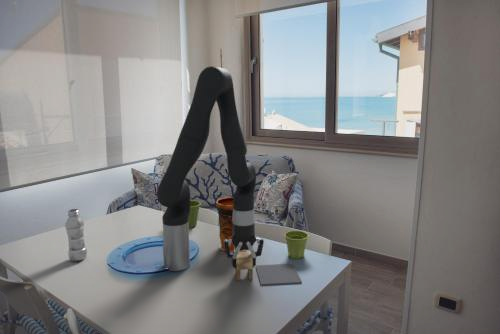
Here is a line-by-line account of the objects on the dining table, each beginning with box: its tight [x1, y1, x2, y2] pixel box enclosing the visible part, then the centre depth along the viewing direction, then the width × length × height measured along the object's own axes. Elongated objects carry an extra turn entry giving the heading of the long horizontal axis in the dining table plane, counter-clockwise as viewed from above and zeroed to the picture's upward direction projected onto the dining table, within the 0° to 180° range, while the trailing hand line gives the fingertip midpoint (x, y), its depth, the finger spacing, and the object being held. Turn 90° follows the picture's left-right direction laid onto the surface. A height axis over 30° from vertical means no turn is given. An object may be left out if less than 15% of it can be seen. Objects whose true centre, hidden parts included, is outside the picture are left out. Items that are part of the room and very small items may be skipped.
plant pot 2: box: [283, 230, 310, 259], centre depth 148 cm, size 9×9×9 cm
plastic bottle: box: [64, 208, 88, 262], centre depth 144 cm, size 6×7×20 cm
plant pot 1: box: [188, 199, 202, 229], centre depth 182 cm, size 12×12×11 cm
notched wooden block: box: [235, 251, 254, 282], centre depth 131 cm, size 6×6×8 cm
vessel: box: [215, 196, 247, 253], centre depth 156 cm, size 14×14×20 cm
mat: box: [255, 263, 303, 286], centre depth 133 cm, size 14×14×1 cm
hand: (244, 267), depth 131 cm, fingers closed on notched wooden block, 5 cm apart
